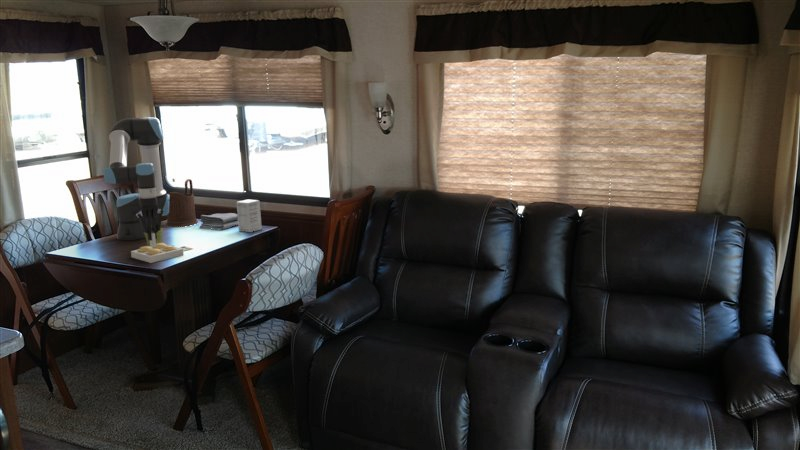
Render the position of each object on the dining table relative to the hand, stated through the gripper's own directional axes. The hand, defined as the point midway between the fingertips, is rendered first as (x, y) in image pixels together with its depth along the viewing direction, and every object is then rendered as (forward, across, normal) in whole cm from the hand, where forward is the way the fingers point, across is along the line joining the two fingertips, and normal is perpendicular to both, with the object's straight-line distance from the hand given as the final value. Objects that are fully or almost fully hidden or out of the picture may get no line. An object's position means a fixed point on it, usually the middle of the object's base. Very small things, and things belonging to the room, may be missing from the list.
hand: (153, 246), depth 283 cm
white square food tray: (+6, +4, +4) cm, 8 cm away
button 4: (+5, +8, 0) cm, 9 cm away
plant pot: (+6, +13, +22) cm, 26 cm away
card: (+6, +18, +5) cm, 20 cm away
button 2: (+5, 0, 0) cm, 5 cm away
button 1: (+5, 0, +8) cm, 9 cm away
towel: (+6, +61, +34) cm, 70 cm away
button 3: (+5, +8, +8) cm, 12 cm away
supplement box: (+6, +65, +11) cm, 66 cm away
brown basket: (+6, +55, +60) cm, 81 cm away
